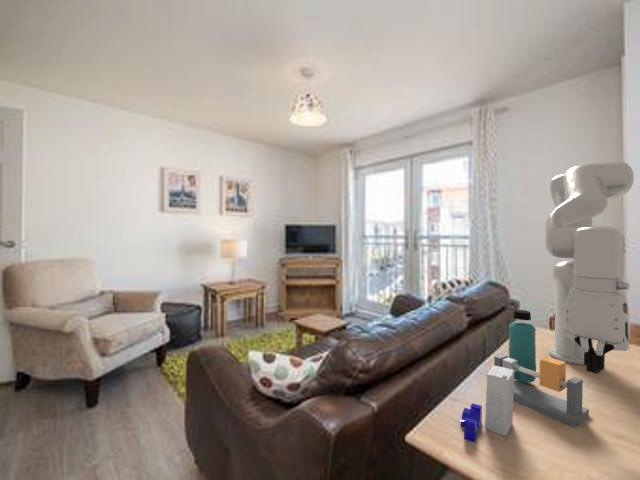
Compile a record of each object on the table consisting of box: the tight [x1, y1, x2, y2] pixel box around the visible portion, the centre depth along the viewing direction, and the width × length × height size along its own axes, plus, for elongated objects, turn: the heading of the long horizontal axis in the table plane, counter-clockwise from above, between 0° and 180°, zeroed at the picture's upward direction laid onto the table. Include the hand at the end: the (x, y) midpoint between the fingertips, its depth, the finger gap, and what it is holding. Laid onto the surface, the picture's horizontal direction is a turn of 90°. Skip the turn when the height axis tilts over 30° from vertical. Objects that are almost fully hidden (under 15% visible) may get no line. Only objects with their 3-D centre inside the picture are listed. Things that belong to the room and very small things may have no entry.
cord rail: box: [493, 353, 590, 428], centre depth 80 cm, size 8×19×9 cm, turn 32°
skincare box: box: [484, 365, 515, 436], centre depth 70 cm, size 6×4×12 cm
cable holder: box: [460, 402, 483, 443], centre depth 69 cm, size 8×4×4 cm, turn 145°
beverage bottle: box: [508, 309, 537, 383], centre depth 90 cm, size 6×7×20 cm
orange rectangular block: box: [539, 356, 567, 393], centre depth 76 cm, size 3×4×6 cm
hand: (593, 371), depth 69 cm, fingers closed
